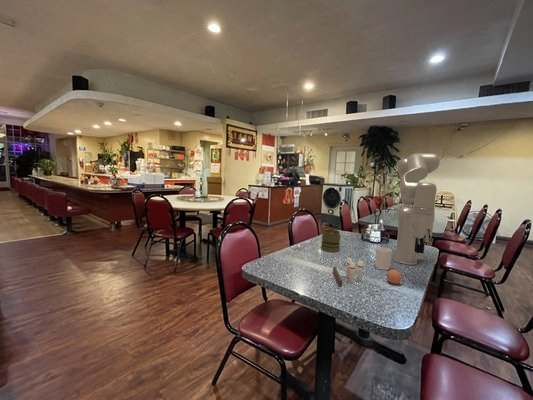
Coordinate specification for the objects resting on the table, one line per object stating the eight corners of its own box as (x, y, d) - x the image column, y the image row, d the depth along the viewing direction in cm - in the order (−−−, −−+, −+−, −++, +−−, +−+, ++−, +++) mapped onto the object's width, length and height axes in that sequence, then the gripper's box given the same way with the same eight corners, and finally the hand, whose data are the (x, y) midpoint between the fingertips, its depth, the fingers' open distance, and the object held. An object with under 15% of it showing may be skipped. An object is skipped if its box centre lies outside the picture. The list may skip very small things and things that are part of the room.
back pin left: (352, 281, 110) (354, 262, 109) (354, 283, 108) (355, 263, 107) (347, 280, 110) (349, 261, 109) (348, 282, 108) (350, 263, 107)
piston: (340, 230, 159) (340, 234, 148) (339, 248, 160) (339, 253, 149) (323, 228, 162) (321, 232, 151) (322, 246, 163) (320, 251, 152)
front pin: (361, 279, 112) (362, 260, 111) (362, 281, 110) (364, 262, 109) (356, 279, 112) (357, 260, 111) (357, 281, 110) (358, 262, 109)
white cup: (381, 271, 123) (383, 252, 122) (370, 265, 131) (372, 247, 130) (394, 269, 125) (395, 251, 124) (383, 264, 133) (384, 246, 132)
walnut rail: (335, 271, 120) (335, 267, 120) (341, 286, 104) (342, 281, 104) (332, 271, 120) (333, 266, 120) (339, 286, 104) (339, 280, 104)
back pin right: (350, 276, 115) (351, 258, 114) (351, 278, 113) (352, 259, 112) (345, 276, 115) (346, 257, 114) (346, 278, 113) (347, 259, 112)
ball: (397, 280, 112) (398, 268, 112) (403, 286, 106) (404, 273, 106) (383, 279, 113) (385, 267, 112) (389, 285, 107) (390, 272, 106)
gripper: (406, 208, 113) (402, 247, 115) (423, 213, 98) (418, 257, 100) (423, 209, 112) (418, 248, 114) (443, 214, 97) (438, 258, 99)
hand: (418, 252), depth 107 cm, fingers closed
